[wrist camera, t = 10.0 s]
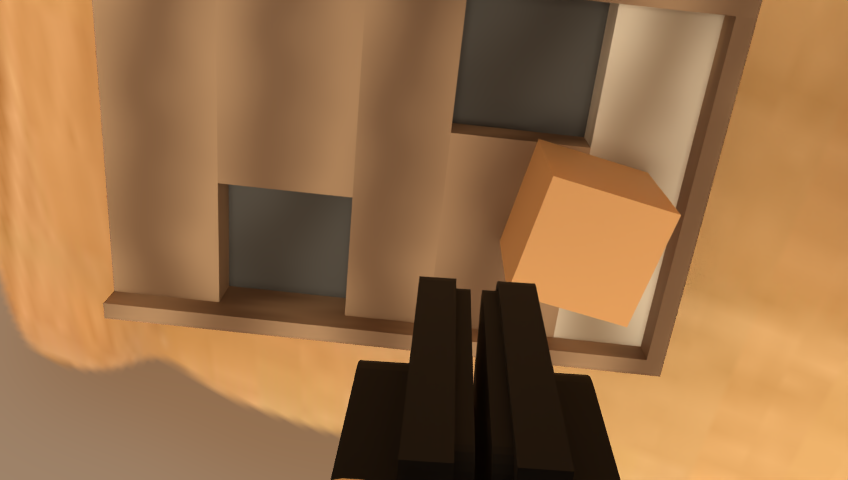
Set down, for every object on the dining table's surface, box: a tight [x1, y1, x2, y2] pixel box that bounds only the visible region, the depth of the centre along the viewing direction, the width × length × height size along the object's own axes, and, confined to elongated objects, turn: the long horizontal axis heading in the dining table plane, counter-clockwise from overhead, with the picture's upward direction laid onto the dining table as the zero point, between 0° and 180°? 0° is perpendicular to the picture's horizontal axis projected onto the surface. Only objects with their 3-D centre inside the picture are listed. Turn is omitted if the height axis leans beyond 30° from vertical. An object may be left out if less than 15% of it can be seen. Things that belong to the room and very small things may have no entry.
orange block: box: [500, 139, 681, 327], centre depth 30 cm, size 5×5×5 cm
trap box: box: [92, 0, 762, 376], centre depth 32 cm, size 26×17×3 cm, turn 84°
